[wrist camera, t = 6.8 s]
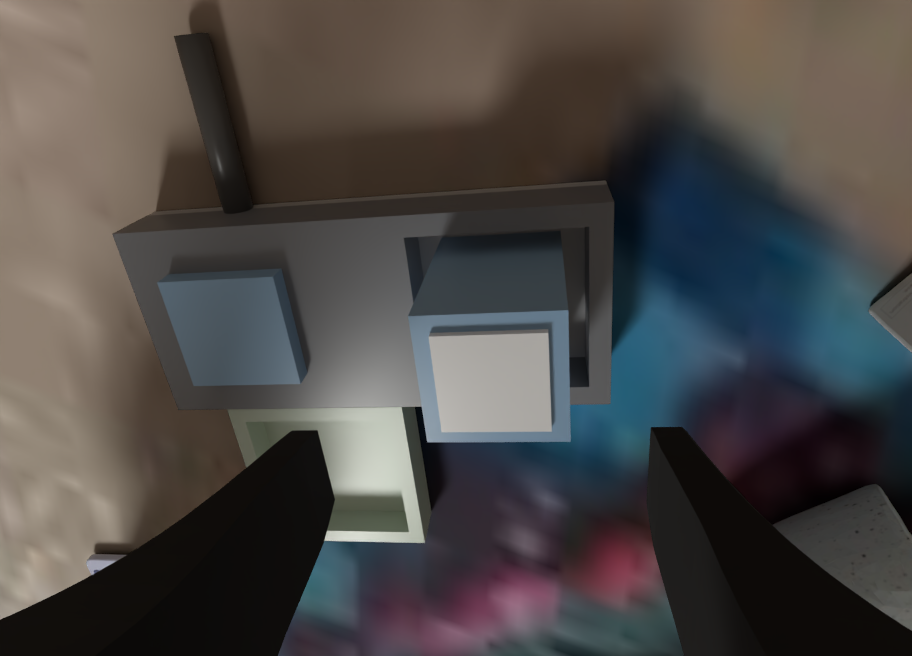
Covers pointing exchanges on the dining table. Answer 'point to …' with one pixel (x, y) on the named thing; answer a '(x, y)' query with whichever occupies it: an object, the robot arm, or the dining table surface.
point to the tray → (355, 466)
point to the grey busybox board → (335, 278)
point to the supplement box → (896, 312)
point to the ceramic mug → (860, 547)
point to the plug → (494, 340)
